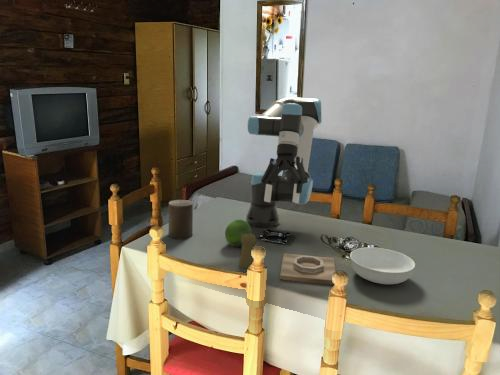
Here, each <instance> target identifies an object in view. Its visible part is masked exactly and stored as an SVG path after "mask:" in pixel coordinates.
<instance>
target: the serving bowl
mask: <svg viewBox="0 0 500 375" xmlns="http://www.w3.org/2000/svg"><path fill="white" fill-rule="evenodd" d="M349 261H350V265H351V267H352V270H354V271H353V272H355V273H356V275H358V276H359V277H361V278H362V279H365V280H366V281H369V282H373V283H376V284H380V285H397V284H401V283H403V282H405V281H407V280H409V279H410V278H411V277H412V276H413V273H414V271H415V269H416V263H415V261H414V260H413V259H412V258H411V257H409V256H408V255H406V254H404V253H402V252H399V251H396V250H392V249H388V248H382V247H376V246H375V247H373V246H372V247H371V246H367V247H365V246H364V247H360V248H356V249H353V250H352V251H351V252H350V254H349Z"/></svg>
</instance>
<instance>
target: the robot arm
mask: <svg viewBox="0 0 500 375" xmlns="http://www.w3.org/2000/svg"><path fill="white" fill-rule="evenodd" d="M320 124H322V102H321V99H319V98H313V97H311V98H309V97H295V96H294V97H293V96H291V97H290V96H287V97H282V98H279V99H277V100H275V101H273V102H271V103H270V104H269V106H268V107H267V110H265V111H264V112H263V113H261V114H260V115H251V116H249V118H248V119H247V132H248V133H249V135H253V136H254V135H255V136H264V137H265V136H267V137H270V136H271V137H278V140H277V145H276V146H277V147H276V155H277V158H272V157H271V158H270V159H269V163H268V165H267V168H266V170H263V171H258V172H255V173H253V174H252V176H251V182H250V205H249V207H248V210H247V213H246V216H245V221H246V222H247V223H248V224H249V225H250V226H252V227H257V228H272V227H276V226H278V225H279V224H280V214H279V212H278V208H277V202H278V203H286V204H287V203H288V204H294V205H306V204H307V203H308V202H309V200H310V197H311V194H312V190H313V185H314V180H313V178H311V174H310V173H309V172H308V171H309V170H308V169H309V165H310V157H311V152H312V151H311V149H312V145H313V137H314V130H316V128H318V125H320ZM282 171H283V172H284V174H283V175H279V174H280V173H281V172H282Z"/></svg>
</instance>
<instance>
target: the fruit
mask: <svg viewBox="0 0 500 375" xmlns="http://www.w3.org/2000/svg"><path fill="white" fill-rule="evenodd" d="M252 232H253V231H252V228H251V225H249V224H248V223H247V222H246V220H243V219H234V220H233V221H231V222H230V223H229V224H228V225H227V226H226V228H225V230H224V234H225V235H224V236H225V241H227V243H228V245H230V246H232V247H237V248H239V247H240V248H241V247H242V242H241V237H242V236H243V235H244V234H253V233H252Z"/></svg>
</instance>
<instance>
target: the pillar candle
mask: <svg viewBox="0 0 500 375" xmlns="http://www.w3.org/2000/svg"><path fill="white" fill-rule="evenodd" d="M193 206H194V202H192V201H191V200H188V199H187V200H186V199H174V200H170V201H169V202H168V236H169V237H170V238H172V239H176V240H177V239H179V240H182V239H183V240H184V239H189V238H191V237H192V236H193V232H194V231H193V227H194V226H193V225H194V224H193V220H194V219H193V218H194V217H193V216H194V215H193V214H194V211H193V210H194V207H193Z"/></svg>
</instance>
